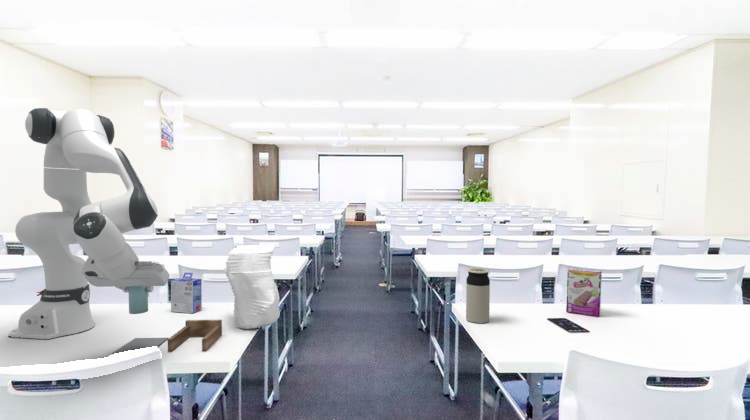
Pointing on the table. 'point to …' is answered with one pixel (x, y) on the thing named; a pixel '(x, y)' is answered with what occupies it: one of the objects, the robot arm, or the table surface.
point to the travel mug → (477, 295)
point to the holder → (197, 333)
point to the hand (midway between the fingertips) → (139, 290)
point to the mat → (141, 344)
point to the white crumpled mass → (253, 286)
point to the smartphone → (568, 325)
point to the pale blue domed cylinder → (138, 299)
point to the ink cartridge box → (186, 294)
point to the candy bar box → (584, 292)
